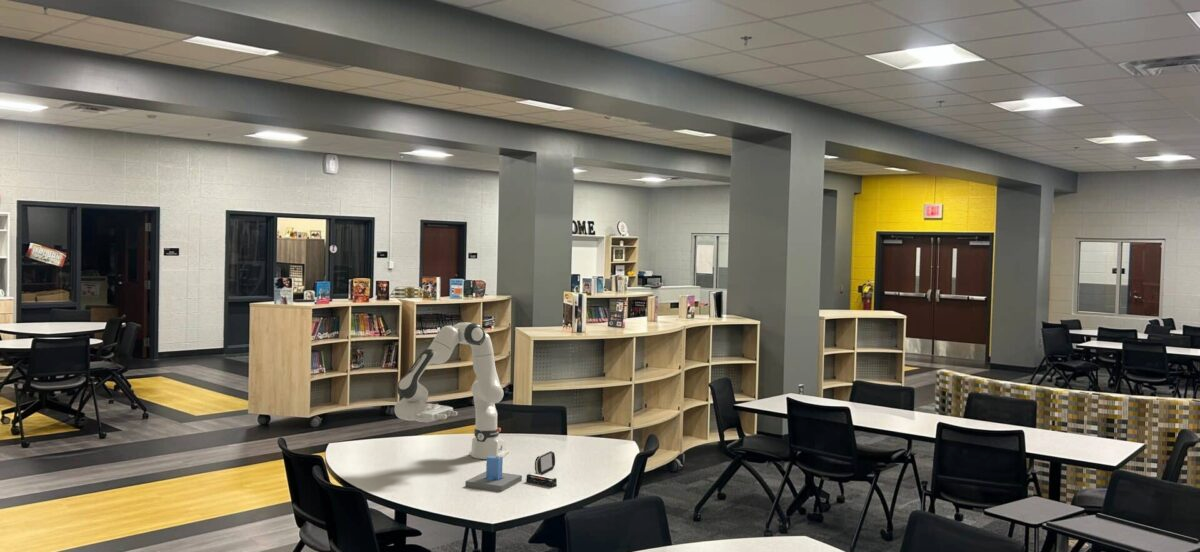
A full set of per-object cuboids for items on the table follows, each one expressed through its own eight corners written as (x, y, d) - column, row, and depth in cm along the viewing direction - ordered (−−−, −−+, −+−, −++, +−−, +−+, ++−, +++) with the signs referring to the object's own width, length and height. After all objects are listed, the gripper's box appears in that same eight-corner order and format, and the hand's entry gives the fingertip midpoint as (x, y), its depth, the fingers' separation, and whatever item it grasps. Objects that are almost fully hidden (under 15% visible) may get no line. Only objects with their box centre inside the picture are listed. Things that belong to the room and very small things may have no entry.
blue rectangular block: (493, 480, 380) (493, 451, 379) (504, 481, 378) (505, 453, 377) (482, 485, 370) (483, 456, 370) (494, 487, 368) (495, 457, 368)
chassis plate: (486, 476, 386) (486, 470, 386) (521, 480, 380) (521, 475, 380) (465, 486, 368) (465, 481, 368) (501, 491, 361) (501, 486, 361)
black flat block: (531, 478, 387) (531, 469, 387) (575, 487, 373) (575, 478, 373) (511, 485, 374) (512, 475, 374) (557, 494, 361) (557, 485, 361)
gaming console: (534, 476, 388) (538, 476, 387) (533, 457, 388) (537, 457, 388) (552, 467, 406) (556, 468, 405) (550, 449, 406) (555, 449, 405)
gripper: (413, 409, 381) (439, 412, 376) (437, 402, 400) (462, 405, 395) (413, 423, 381) (439, 426, 376) (437, 415, 400) (462, 418, 395)
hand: (451, 415), depth 386 cm, fingers open, 8 cm apart
